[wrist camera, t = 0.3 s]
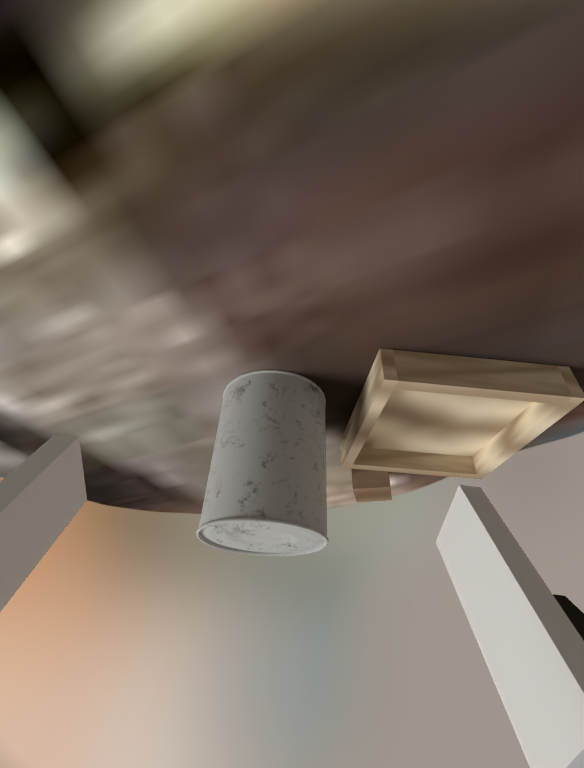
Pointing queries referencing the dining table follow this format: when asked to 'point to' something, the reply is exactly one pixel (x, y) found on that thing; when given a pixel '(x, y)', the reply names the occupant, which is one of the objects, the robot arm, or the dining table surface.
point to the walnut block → (371, 485)
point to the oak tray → (452, 412)
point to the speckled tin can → (268, 468)
